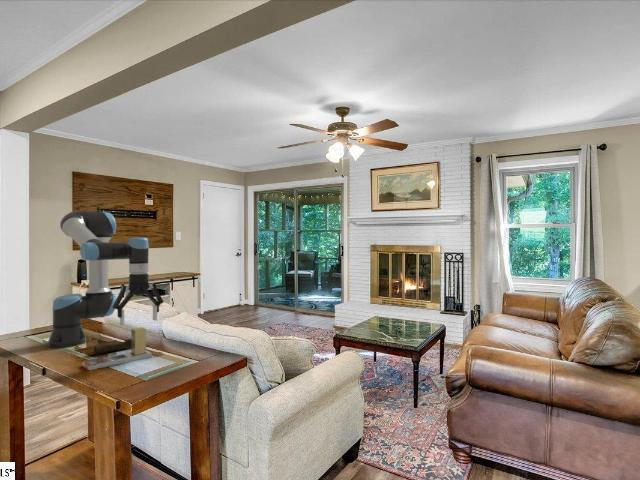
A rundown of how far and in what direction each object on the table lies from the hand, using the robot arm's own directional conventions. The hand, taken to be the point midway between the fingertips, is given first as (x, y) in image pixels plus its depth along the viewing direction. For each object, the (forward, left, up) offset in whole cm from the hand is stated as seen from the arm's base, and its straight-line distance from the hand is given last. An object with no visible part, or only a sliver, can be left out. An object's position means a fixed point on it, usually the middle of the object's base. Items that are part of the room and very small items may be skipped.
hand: (139, 322), depth 161 cm
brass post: (0, 0, -15) cm, 15 cm away
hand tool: (-17, -3, -15) cm, 23 cm away
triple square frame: (0, -8, -15) cm, 17 cm away
